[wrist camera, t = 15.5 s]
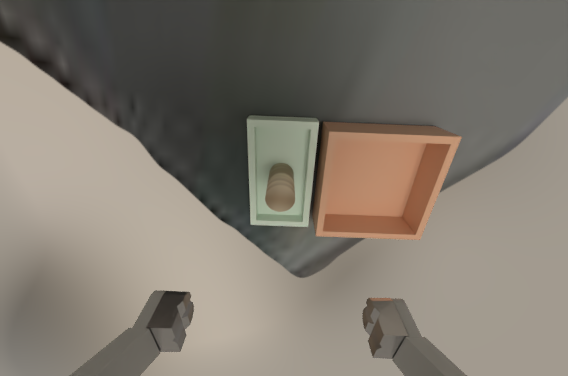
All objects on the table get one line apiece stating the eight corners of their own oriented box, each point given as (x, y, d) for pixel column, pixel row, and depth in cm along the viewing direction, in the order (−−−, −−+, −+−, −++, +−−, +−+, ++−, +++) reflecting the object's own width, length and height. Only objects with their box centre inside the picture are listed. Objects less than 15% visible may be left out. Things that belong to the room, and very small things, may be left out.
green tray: (249, 115, 34) (246, 119, 32) (316, 118, 34) (319, 122, 32) (253, 214, 43) (250, 224, 40) (306, 216, 43) (307, 226, 40)
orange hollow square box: (322, 121, 35) (329, 131, 29) (435, 126, 35) (461, 136, 29) (312, 214, 43) (315, 236, 37) (403, 218, 43) (420, 239, 37)
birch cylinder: (269, 162, 37) (265, 185, 30) (294, 163, 37) (296, 186, 30) (269, 184, 39) (265, 211, 32) (293, 185, 39) (294, 212, 32)
